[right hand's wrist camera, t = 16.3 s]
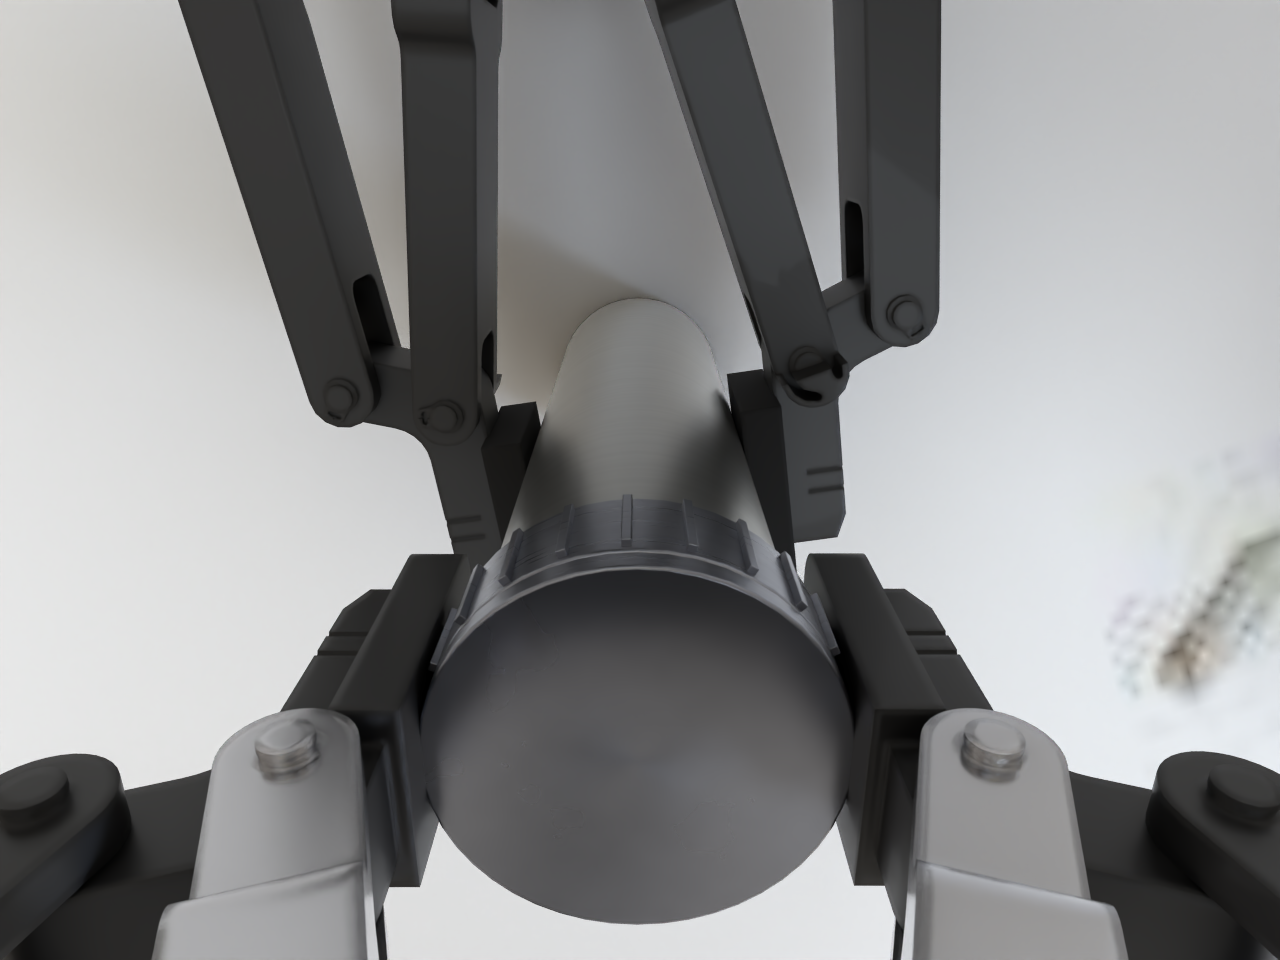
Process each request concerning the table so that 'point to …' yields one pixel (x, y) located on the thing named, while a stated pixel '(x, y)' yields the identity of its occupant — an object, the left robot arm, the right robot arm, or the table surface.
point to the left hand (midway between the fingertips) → (673, 678)
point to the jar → (638, 422)
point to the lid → (637, 715)
